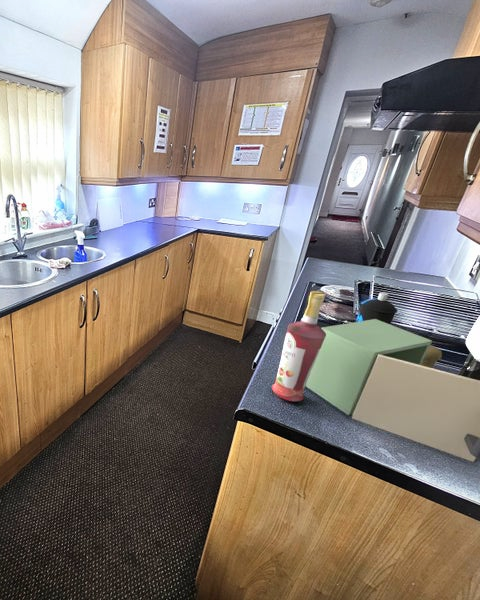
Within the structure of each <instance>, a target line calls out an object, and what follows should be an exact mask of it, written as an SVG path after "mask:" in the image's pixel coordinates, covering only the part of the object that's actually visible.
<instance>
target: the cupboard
mask: <svg viewBox="0 0 480 600" xmlns="http://www.w3.org/2000/svg"><path fill="white" fill-rule="evenodd" d="M321 328H322V329H323V331H324V332H325V333H326V337H325V339H324V341H323V344H322V346H321V349H320V352H319V354H318V356H317V359H316V361H315V363H314V365H313V368H312V370H311V373H310V375H309V378H308V380H307V383H306V385H305V388H308V389H309V390H310V391H312V392H313V393H315V394H317V395H318V396H319V397H321V398H322V399H324V400H325V401H327V402H328V403H329V404H331V405H333V406H334V407H336V408H337V409H339V410H340V411H341V412H343V413H344V414H346V415H347V416H350V415H351V416H352V415H353V412H354V410H355V408H356V405H357V403H358V401H359V398H360V396H361V394H362V391H363V389H364V387H365V384H366V382H367V380H368V377H369V375H370V373H371V370H372V368H373V366H374V363H375V361H376V359H377V356H378V354H380V355H383V356H387V357H391V358H395V359H399V360H402V361H406V362H410V363H414V364H418V365H421V363H422V361H423V359H424V357H425V355H426V353H427V351H428V349H429V347H430V345H431V346H432V342H433V340H431V339H429V338H426V337H424V336H421V335H418V334H416V333H414V332H411V331H408V330H405V329H403V328H401V327H397V326H395V325H392V324H387V323H385V322H382V321H379V320H377V319H372V320H366V321H360V322H355V321H354V322H348V323H342V324H336V325H330V326H323V327H321Z"/></svg>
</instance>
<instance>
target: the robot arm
mask: <svg viewBox="0 0 480 600" xmlns="http://www.w3.org/2000/svg"><path fill="white" fill-rule="evenodd" d="M465 345H466V347H467V349H468V351H469V353H468V355H467V357H466V359H465V361H464V364H463V366H461V368H460V370H459V372H458V374H457V375H460V376H464V377H467V378H471V379H475V380H479V381H480V315H479V316H478V318H477V319H476V320H475V322H474V324H473V325H472V327H471V329H470V330H469V333H468V334H467V337H466V338H465Z"/></svg>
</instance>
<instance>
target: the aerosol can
mask: <svg viewBox="0 0 480 600" xmlns="http://www.w3.org/2000/svg"><path fill="white" fill-rule="evenodd" d="M388 297H389V293H387V292H383V291H382V292H379V293H378V296H377V298H369V299H366V300H364V301H361V302H360V305H361V306H360V308H359V311H358V313H357V316H356V319H355V321H354V322H360V321H366V320H372V319H377V320H379V321H382V322H385V323H387V324H390V325H392V322H393V320H394V317H395V315H396V313H398V309H397V308H396V307H395V305H394V304H393V303H391V302H390V301H388V300H387V299H388Z"/></svg>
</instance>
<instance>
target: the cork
mask: <svg viewBox="0 0 480 600" xmlns="http://www.w3.org/2000/svg"><path fill="white" fill-rule="evenodd" d="M442 357H443V352H442V350H441V349H440V348H439V347H437V346H434V345H432V344H431V345H430V347H429V349H428V351H427V353H426V355H425V357H424V359H423V361H422V363H421V365H422V366H425V367H429V368H433V369H435V365H436V362H438V361H440V359H442Z"/></svg>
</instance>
